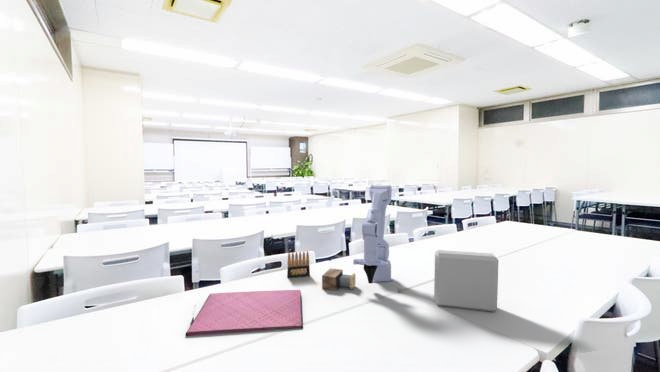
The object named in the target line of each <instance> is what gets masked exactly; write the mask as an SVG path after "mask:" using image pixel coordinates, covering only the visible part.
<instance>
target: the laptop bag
mask: <svg viewBox="0 0 660 372" xmlns="http://www.w3.org/2000/svg"><path fill="white" fill-rule="evenodd" d="M204 301H205V302H204V303H203V305H202V307H201V308H200V310H199V311H198V313H197V314H196V316H195V315H193V317H192V319H191V321H190V323H189V325H190V326H189V328H188V329H187V331H186V333H185V337H188V336H196V335H197V336H199V335H208V334H218V333H219V334H221V333H233V332H244V331H245V332H246V331H247V332H249V331H261V330H262V331H263V330H276V329H277V330H279V329H291V328H294V329H295V328H302V329H303V328H304V326H303V325H304V322H303V305H302V302H303V301H302V292H301V290H300V289H284V290H283V289H281V290H261V291H260V290H259V291H258V290H255V291H235V292H233V291H231V292H216V293H215V292H213V293H209V295H208V296H207V298H206V300H204ZM195 307H196V305H194V308H195ZM195 311H196V310H194V312H193V313H196V312H195ZM194 317H195V318H194Z"/></svg>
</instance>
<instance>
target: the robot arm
mask: <svg viewBox="0 0 660 372" xmlns="http://www.w3.org/2000/svg"><path fill="white" fill-rule="evenodd" d="M392 190H393V189H392V186H391V185H390V184H389V185H383V184H382V185H379V184H375V185H373V184H371V185H370V186H369V190H368V192H369V197H370V201H371V208H369V209H368V211H367V214H366V218H365V222H363V223H362V225H361V226H362V228H361V232H362V233H361V234H362V240H363V258H354V259H353V263H352V264H353V265H354V266H355V265H360V266H361V265H362V266H363V267H362V268H363V271H364V273H365V275H366V278H367V282H368V284H373V283H377V282H391V281H392V264H391V261H390V259H389V258H390V257H389V256H390V249H389V248H390V244H389V242H387V240H385V239H384V236H385V235H384V234H385V224H386V211H387V206H389V205H390V204H391V202H392V194H393V193H392Z"/></svg>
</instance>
